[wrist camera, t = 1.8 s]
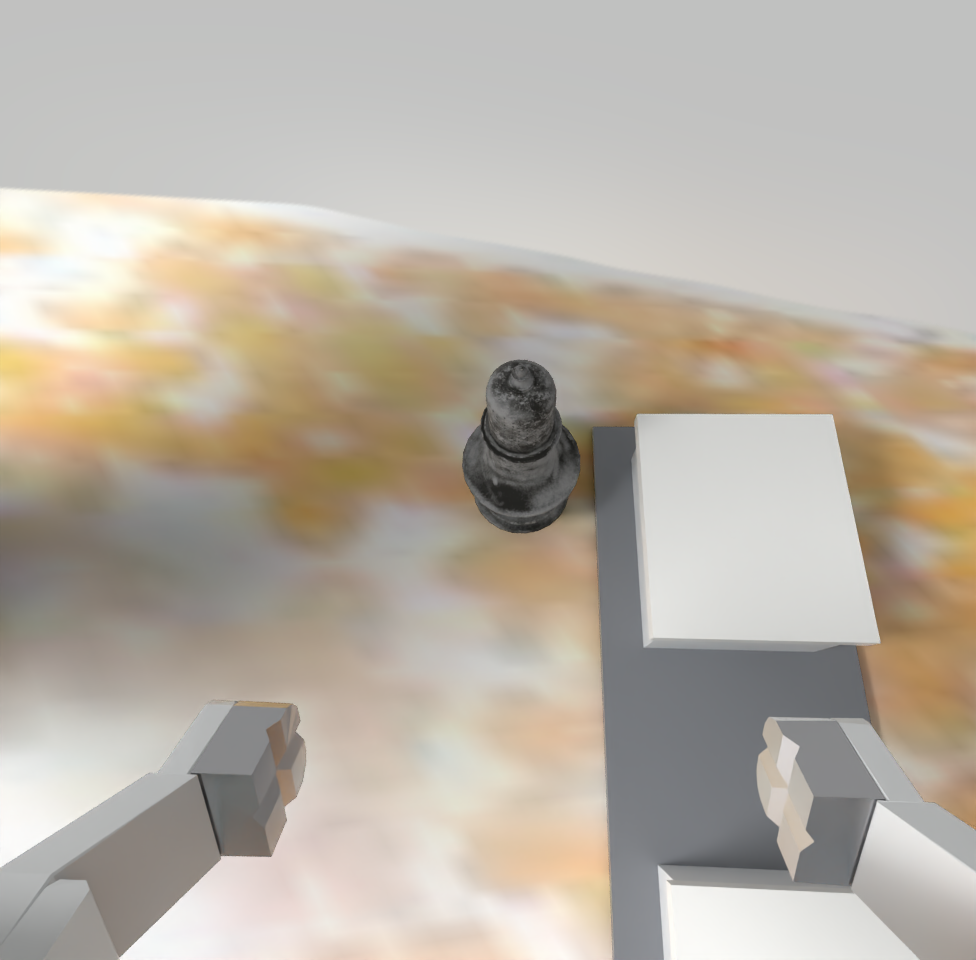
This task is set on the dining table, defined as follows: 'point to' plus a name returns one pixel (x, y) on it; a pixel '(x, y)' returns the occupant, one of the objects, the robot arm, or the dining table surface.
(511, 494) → the dark grey upright figurine
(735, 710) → the grey mounting plate
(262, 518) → the dining table surface
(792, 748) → the robot arm
